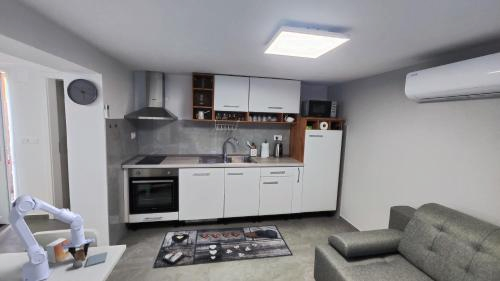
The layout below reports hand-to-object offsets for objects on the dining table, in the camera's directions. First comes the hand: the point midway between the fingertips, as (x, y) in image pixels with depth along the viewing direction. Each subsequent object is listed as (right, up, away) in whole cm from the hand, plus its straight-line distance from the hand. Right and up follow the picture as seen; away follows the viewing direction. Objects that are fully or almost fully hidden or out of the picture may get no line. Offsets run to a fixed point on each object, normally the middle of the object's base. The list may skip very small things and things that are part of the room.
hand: (80, 257), depth 129 cm
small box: (-14, -2, +1) cm, 14 cm away
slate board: (+10, -1, -1) cm, 10 cm away
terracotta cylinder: (-3, -1, +6) cm, 7 cm away
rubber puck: (+3, -2, -6) cm, 7 cm away
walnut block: (0, -1, 0) cm, 1 cm away
